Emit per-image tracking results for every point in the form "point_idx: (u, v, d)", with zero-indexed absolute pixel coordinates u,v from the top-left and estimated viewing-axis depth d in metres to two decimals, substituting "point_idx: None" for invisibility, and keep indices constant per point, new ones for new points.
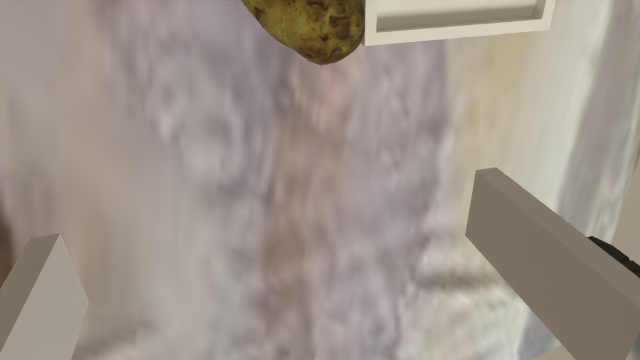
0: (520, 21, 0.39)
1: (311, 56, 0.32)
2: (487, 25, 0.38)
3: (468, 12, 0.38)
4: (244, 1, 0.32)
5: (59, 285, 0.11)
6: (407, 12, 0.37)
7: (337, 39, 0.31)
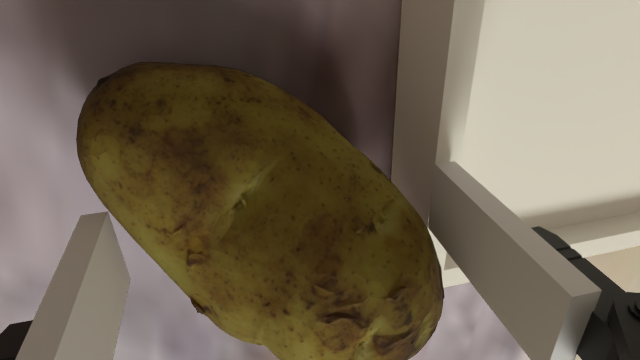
0: None
1: None
2: None
3: (609, 203, 0.20)
4: (167, 273, 0.13)
5: (108, 259, 0.12)
6: None
7: None
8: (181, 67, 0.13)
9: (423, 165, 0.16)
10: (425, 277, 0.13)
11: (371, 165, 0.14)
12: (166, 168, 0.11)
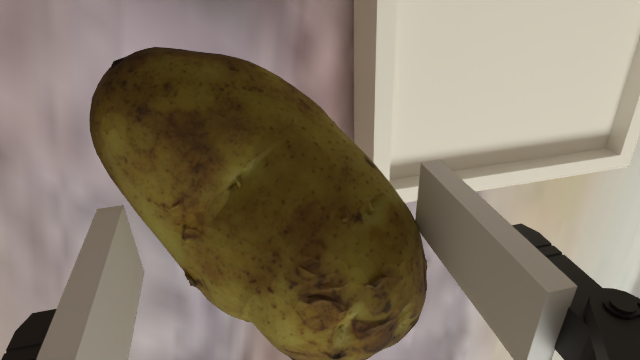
0: (590, 159, 0.27)
1: None
2: (546, 169, 0.27)
3: (517, 148, 0.27)
4: (165, 246, 0.14)
5: (125, 251, 0.13)
6: (433, 155, 0.26)
7: (364, 354, 0.14)
8: (190, 54, 0.13)
9: (369, 111, 0.23)
10: (407, 269, 0.14)
11: (365, 159, 0.15)
12: (169, 147, 0.12)
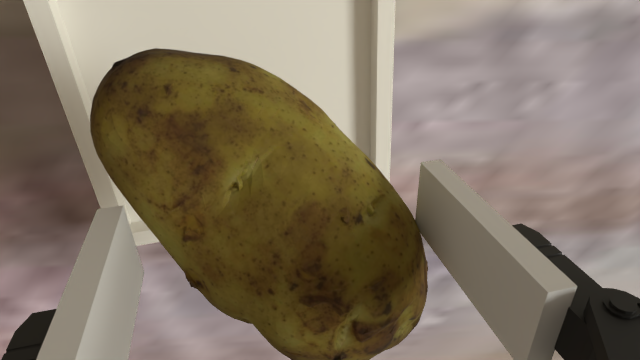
0: None
1: None
2: (380, 28, 0.24)
3: (355, 51, 0.25)
4: (166, 248, 0.14)
5: (125, 251, 0.13)
6: None
7: (365, 355, 0.14)
8: (191, 55, 0.13)
9: None
10: (408, 271, 0.13)
11: (366, 160, 0.15)
12: (169, 149, 0.12)
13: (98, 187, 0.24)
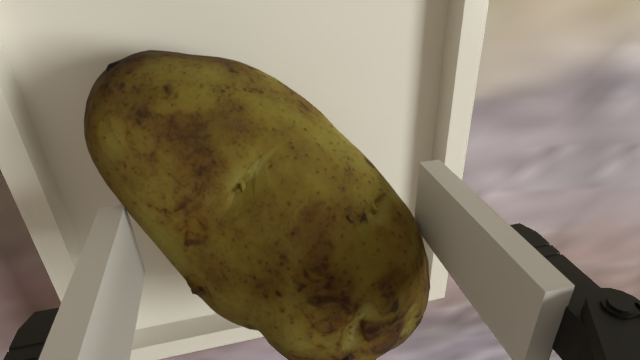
0: (464, 11, 0.16)
1: None
2: (457, 96, 0.18)
3: (417, 121, 0.19)
4: (164, 254, 0.14)
5: (127, 250, 0.13)
6: None
7: (372, 356, 0.14)
8: (188, 56, 0.13)
9: None
10: (413, 268, 0.14)
11: (365, 159, 0.15)
12: (170, 150, 0.12)
13: None
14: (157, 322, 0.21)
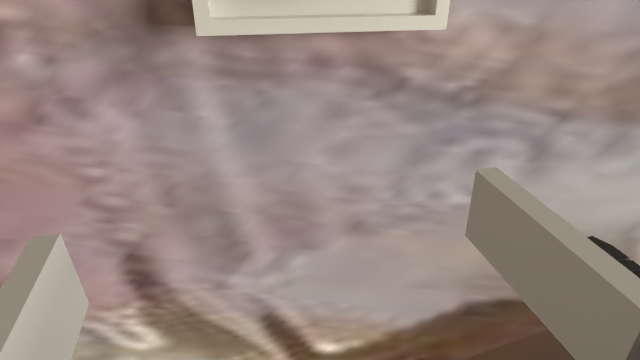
0: None
1: None
2: None
3: None
4: None
5: (59, 285, 0.11)
6: None
7: None
8: None
9: None
10: None
11: None
12: None
13: None
14: (240, 13, 0.29)
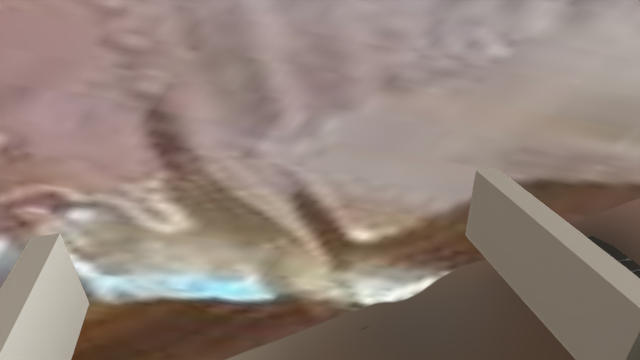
0: None
1: None
2: None
3: None
4: None
5: (59, 285, 0.11)
6: None
7: None
8: None
9: None
10: None
11: None
12: None
13: None
14: None
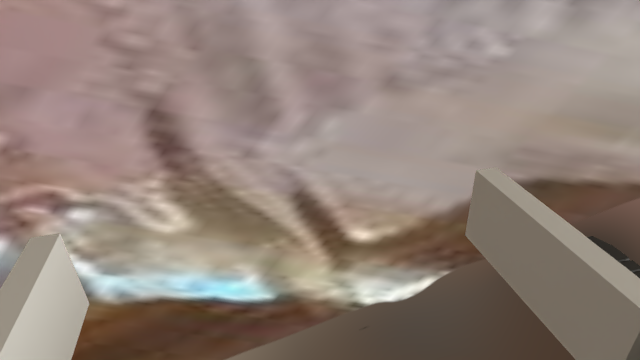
0: None
1: None
2: None
3: None
4: None
5: (59, 285, 0.11)
6: None
7: None
8: None
9: None
10: None
11: None
12: None
13: None
14: None
